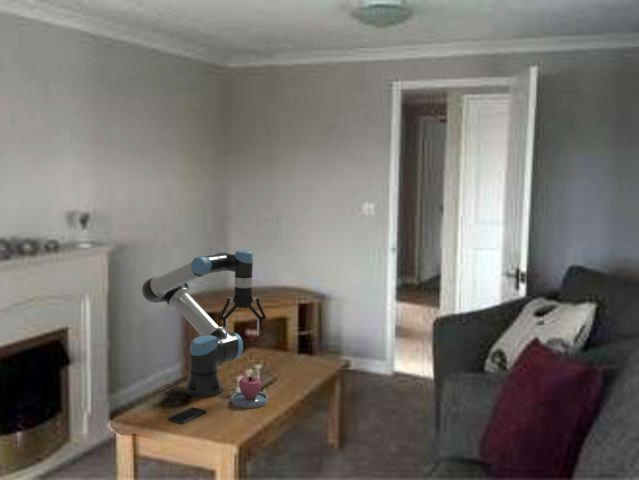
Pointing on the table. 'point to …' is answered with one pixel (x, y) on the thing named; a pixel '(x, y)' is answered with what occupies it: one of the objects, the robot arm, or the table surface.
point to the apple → (250, 386)
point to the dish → (249, 400)
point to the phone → (187, 415)
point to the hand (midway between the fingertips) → (242, 334)
